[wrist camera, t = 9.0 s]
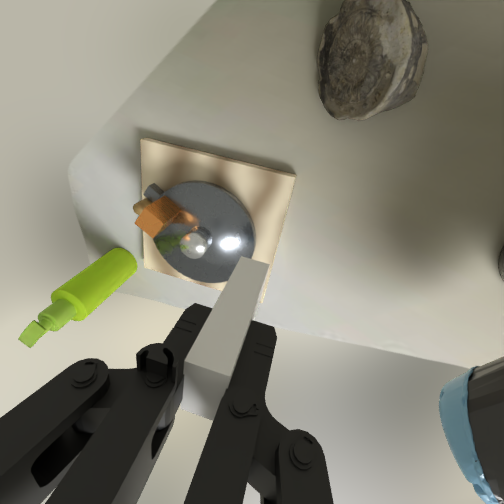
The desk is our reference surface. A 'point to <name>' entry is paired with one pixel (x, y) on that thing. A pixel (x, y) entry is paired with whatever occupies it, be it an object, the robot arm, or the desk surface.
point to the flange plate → (215, 221)
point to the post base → (227, 176)
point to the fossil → (370, 58)
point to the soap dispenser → (82, 293)
